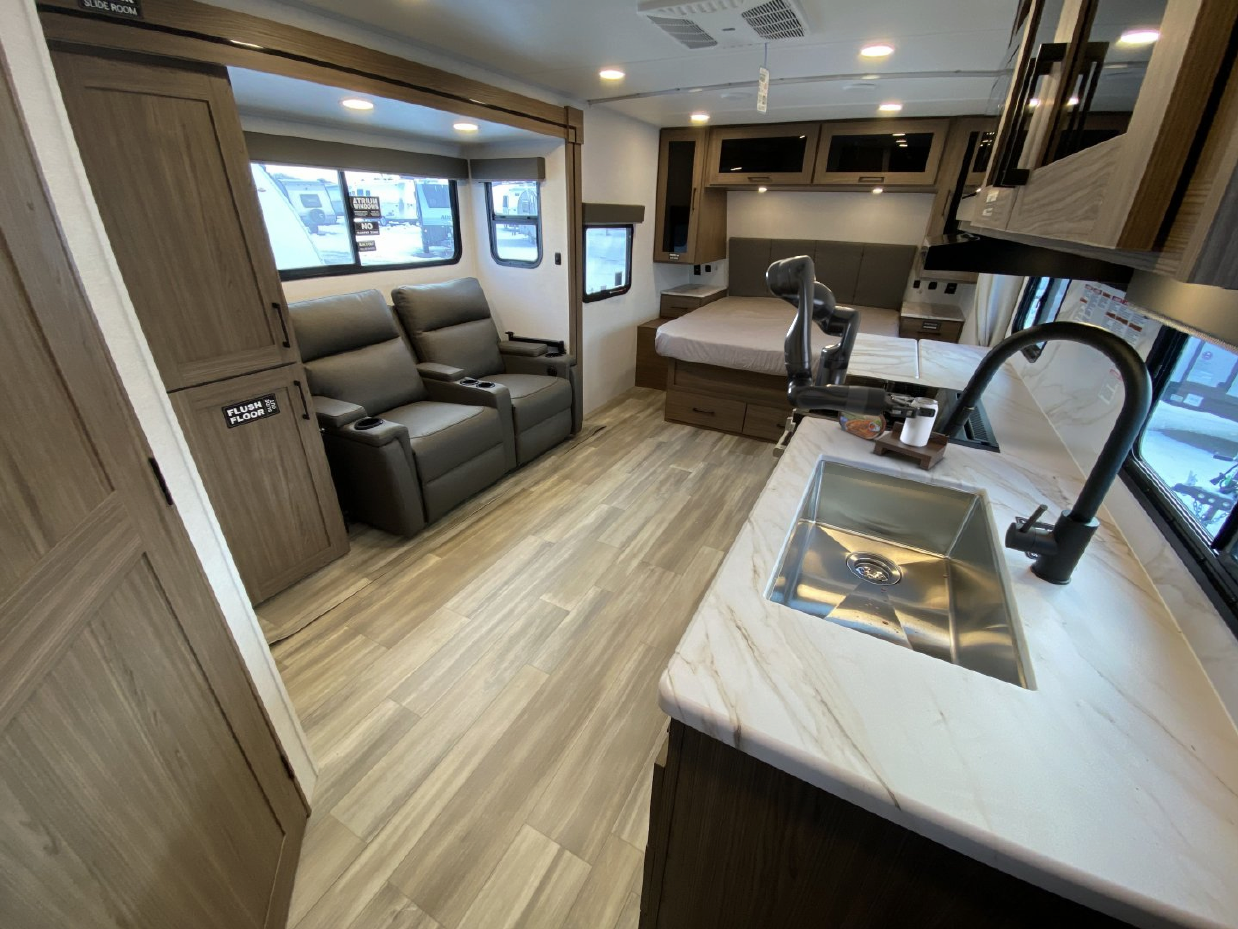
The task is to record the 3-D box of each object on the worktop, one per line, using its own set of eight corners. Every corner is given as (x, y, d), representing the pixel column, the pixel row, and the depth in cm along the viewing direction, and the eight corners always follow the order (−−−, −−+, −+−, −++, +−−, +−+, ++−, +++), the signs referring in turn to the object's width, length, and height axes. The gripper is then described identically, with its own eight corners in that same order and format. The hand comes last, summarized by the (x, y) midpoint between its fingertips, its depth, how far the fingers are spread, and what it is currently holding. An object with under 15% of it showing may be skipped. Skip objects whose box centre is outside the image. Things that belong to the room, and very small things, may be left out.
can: (919, 438, 137) (933, 397, 132) (930, 448, 132) (945, 405, 126) (895, 437, 138) (908, 396, 132) (905, 446, 132) (918, 404, 127)
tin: (834, 426, 155) (840, 400, 152) (841, 424, 157) (847, 399, 153) (876, 443, 144) (883, 416, 140) (883, 442, 145) (891, 415, 141)
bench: (890, 442, 145) (895, 421, 142) (942, 457, 136) (950, 436, 133) (872, 453, 138) (878, 431, 135) (927, 470, 128) (934, 447, 126)
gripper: (869, 395, 127) (942, 403, 122) (864, 380, 139) (930, 387, 134) (862, 422, 130) (933, 431, 125) (858, 405, 142) (922, 413, 137)
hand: (931, 408), depth 130 cm, fingers closed on can, 6 cm apart
